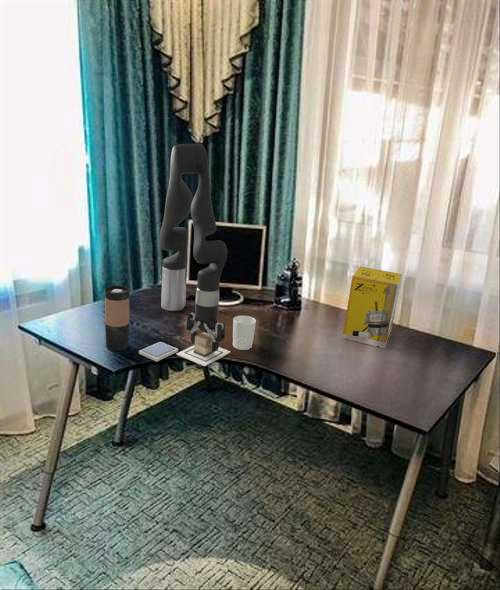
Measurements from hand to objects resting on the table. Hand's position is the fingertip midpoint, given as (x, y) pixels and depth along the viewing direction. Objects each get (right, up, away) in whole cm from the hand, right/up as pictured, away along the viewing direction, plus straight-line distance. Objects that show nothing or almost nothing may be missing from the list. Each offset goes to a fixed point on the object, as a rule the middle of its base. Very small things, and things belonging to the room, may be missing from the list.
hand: (204, 347), depth 162 cm
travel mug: (-29, 0, 0) cm, 29 cm away
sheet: (0, -2, +1) cm, 2 cm away
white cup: (+12, -1, +9) cm, 15 cm away
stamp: (0, -2, +1) cm, 2 cm away
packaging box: (+61, +1, +28) cm, 67 cm away
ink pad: (-15, -2, -2) cm, 15 cm away
